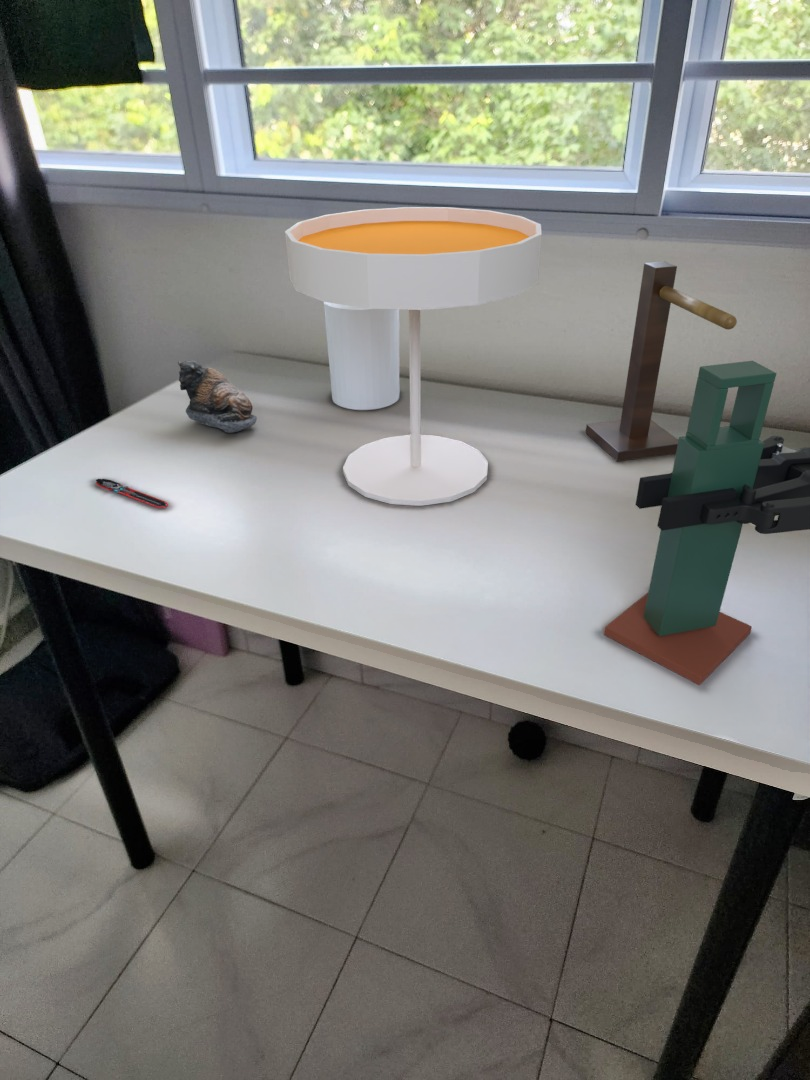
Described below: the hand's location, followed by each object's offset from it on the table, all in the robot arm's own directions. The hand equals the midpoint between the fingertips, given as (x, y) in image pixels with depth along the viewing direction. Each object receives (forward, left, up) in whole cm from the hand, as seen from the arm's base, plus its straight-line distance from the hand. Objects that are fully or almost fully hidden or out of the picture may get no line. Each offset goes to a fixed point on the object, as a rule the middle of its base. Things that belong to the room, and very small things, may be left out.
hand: (651, 503), depth 63 cm
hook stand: (+19, -37, -15) cm, 44 cm away
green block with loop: (-3, -5, -14) cm, 15 cm away
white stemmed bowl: (+40, -12, -16) cm, 45 cm away
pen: (+62, +19, -16) cm, 67 cm away
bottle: (+65, -25, -16) cm, 72 cm away
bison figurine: (+72, -1, -16) cm, 74 cm away
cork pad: (-3, -5, -15) cm, 16 cm away
